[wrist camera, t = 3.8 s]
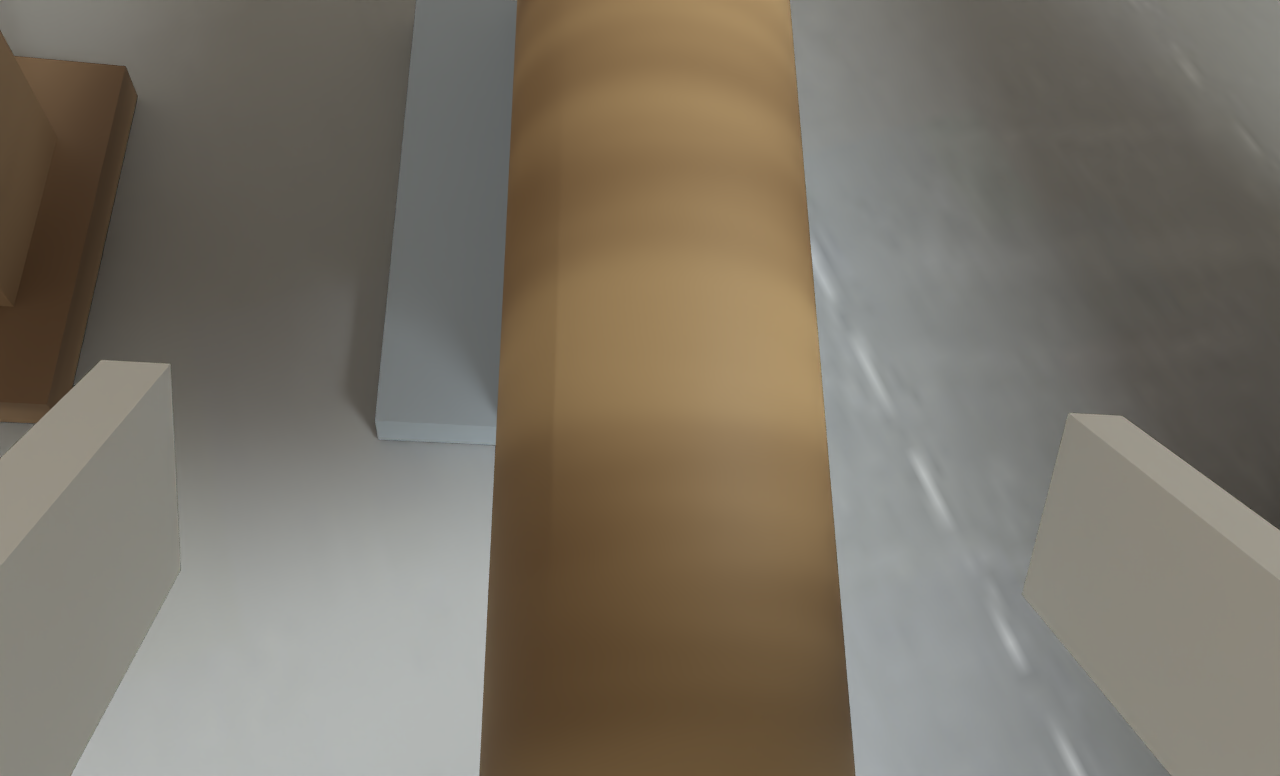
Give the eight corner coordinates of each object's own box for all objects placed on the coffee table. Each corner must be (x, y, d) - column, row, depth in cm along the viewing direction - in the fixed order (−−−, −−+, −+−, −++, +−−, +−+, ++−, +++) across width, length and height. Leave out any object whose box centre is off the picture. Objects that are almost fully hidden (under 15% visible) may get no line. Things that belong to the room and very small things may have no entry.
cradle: (737, 52, 28) (850, -277, 20) (760, 457, 23) (918, 239, 15) (418, 20, 27) (402, -343, 19) (378, 439, 22) (336, 193, 14)
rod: (533, -374, 20) (548, -611, 17) (723, -344, 21) (772, -570, 18) (467, 964, 11) (473, 995, 8) (805, 957, 12) (938, 985, 9)
